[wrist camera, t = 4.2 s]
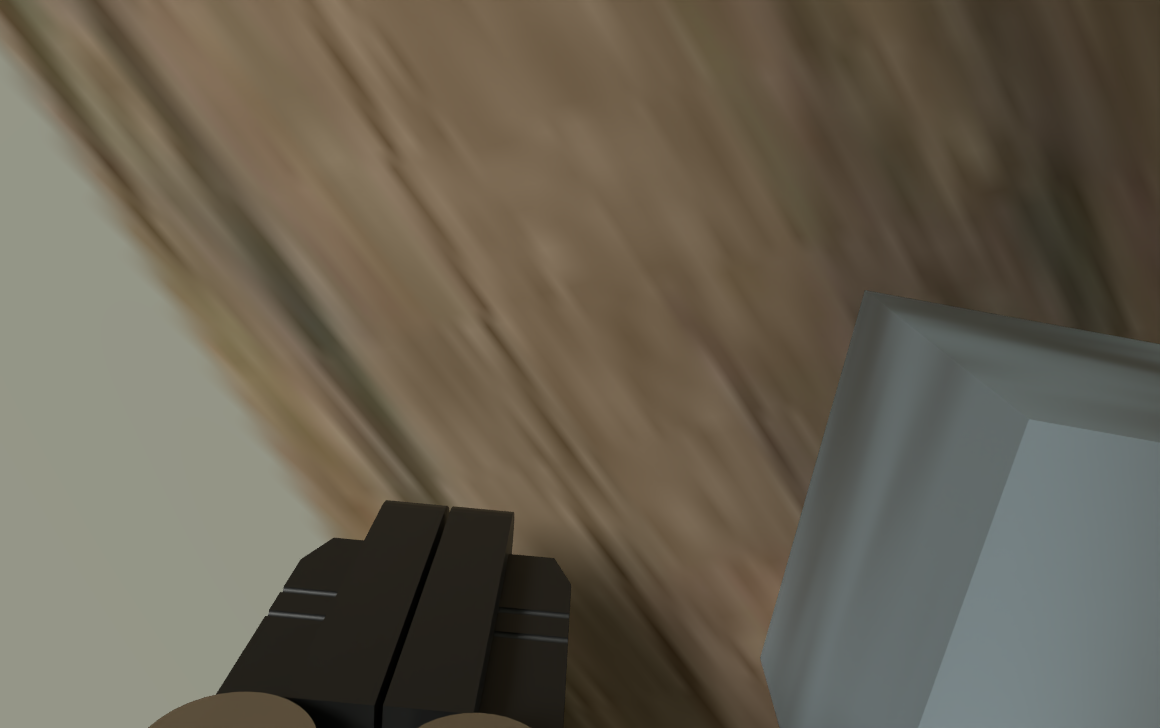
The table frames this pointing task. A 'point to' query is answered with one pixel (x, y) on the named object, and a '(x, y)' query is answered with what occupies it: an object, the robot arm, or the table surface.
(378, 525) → the robot arm
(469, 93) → the table surface
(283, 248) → the table surface
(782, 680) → the block
